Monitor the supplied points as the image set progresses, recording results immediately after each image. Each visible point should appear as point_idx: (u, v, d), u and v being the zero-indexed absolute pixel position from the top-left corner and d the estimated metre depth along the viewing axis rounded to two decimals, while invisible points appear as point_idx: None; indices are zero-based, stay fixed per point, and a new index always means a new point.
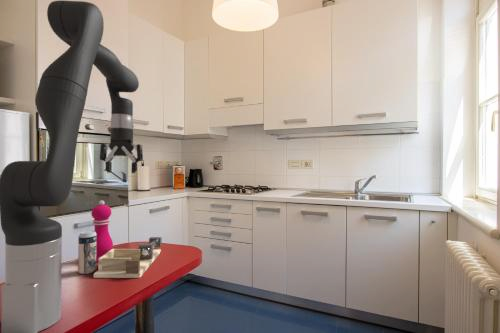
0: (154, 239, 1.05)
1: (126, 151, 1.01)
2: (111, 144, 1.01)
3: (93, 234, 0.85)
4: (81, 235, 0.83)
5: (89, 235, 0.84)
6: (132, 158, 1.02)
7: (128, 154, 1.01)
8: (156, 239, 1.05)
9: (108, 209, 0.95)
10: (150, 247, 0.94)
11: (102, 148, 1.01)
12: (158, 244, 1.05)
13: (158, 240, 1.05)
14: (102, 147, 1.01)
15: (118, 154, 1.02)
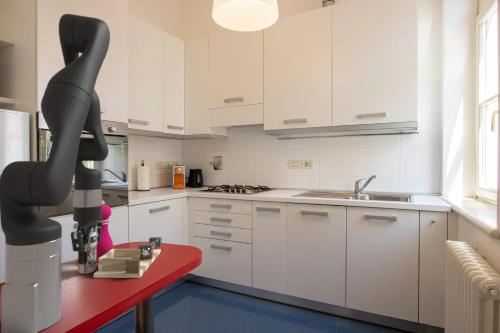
0: (154, 239, 1.05)
1: (96, 231, 0.87)
2: (85, 227, 0.82)
3: (93, 234, 0.85)
4: None
5: None
6: (96, 240, 0.88)
7: (97, 235, 0.87)
8: (156, 239, 1.05)
9: (108, 209, 0.95)
10: (150, 247, 0.94)
11: (81, 237, 0.79)
12: (158, 244, 1.05)
13: (158, 240, 1.05)
14: (81, 236, 0.79)
15: None
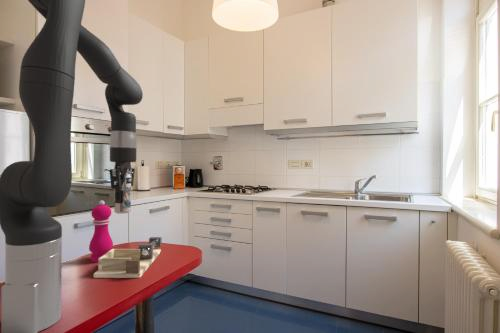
0: (154, 239, 1.05)
1: (130, 174, 0.90)
2: (122, 167, 0.84)
3: (128, 175, 0.87)
4: None
5: None
6: None
7: (131, 178, 0.90)
8: (156, 239, 1.05)
9: (108, 209, 0.95)
10: (150, 247, 0.94)
11: (119, 175, 0.82)
12: (158, 244, 1.05)
13: (158, 240, 1.05)
14: (119, 174, 0.82)
15: None
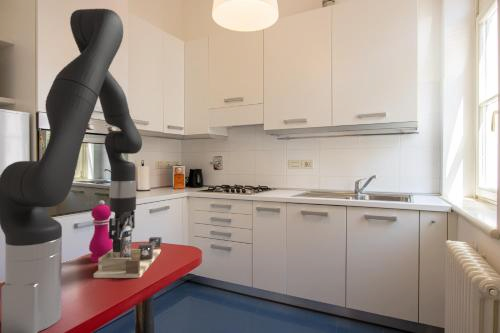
0: (154, 239, 1.05)
1: (130, 221, 0.90)
2: (122, 217, 0.85)
3: (128, 228, 0.87)
4: None
5: None
6: (131, 227, 0.92)
7: (131, 224, 0.91)
8: (156, 239, 1.05)
9: (108, 209, 0.95)
10: (150, 247, 0.94)
11: (118, 224, 0.82)
12: (158, 244, 1.05)
13: (158, 240, 1.05)
14: (118, 223, 0.82)
15: None
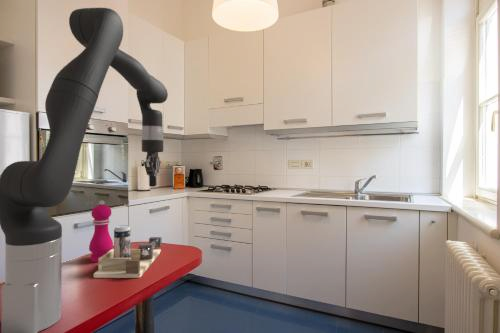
0: (154, 239, 1.05)
1: (158, 163, 1.06)
2: (152, 156, 1.01)
3: (128, 228, 0.87)
4: (117, 229, 0.86)
5: (124, 229, 0.86)
6: (156, 172, 1.05)
7: (158, 166, 1.05)
8: (156, 239, 1.05)
9: (108, 209, 0.95)
10: (150, 247, 0.94)
11: (152, 165, 1.00)
12: (158, 244, 1.05)
13: (158, 240, 1.05)
14: (152, 164, 0.99)
15: None
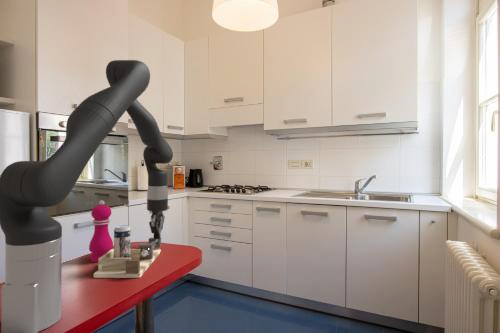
0: (154, 239, 1.04)
1: (162, 220, 1.09)
2: (157, 215, 1.05)
3: (128, 228, 0.87)
4: (117, 229, 0.86)
5: (124, 229, 0.86)
6: (160, 229, 1.08)
7: (162, 223, 1.09)
8: (156, 239, 1.04)
9: (108, 209, 0.95)
10: (150, 247, 0.94)
11: (157, 225, 1.03)
12: (158, 244, 1.04)
13: (158, 240, 1.04)
14: (156, 224, 1.03)
15: (160, 219, 1.09)
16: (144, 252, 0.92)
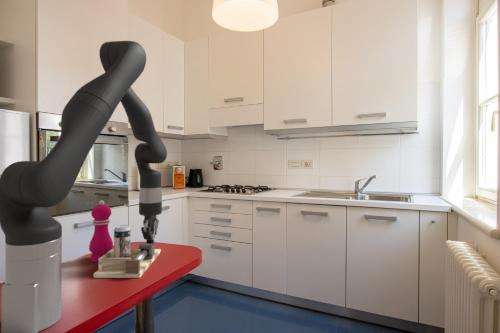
0: None
1: (156, 224, 1.00)
2: (150, 220, 0.96)
3: (128, 228, 0.87)
4: (117, 229, 0.86)
5: (124, 229, 0.86)
6: (154, 234, 1.00)
7: (156, 228, 1.00)
8: None
9: (108, 209, 0.95)
10: (150, 247, 0.94)
11: (149, 230, 0.95)
12: None
13: None
14: (149, 230, 0.94)
15: None
16: None
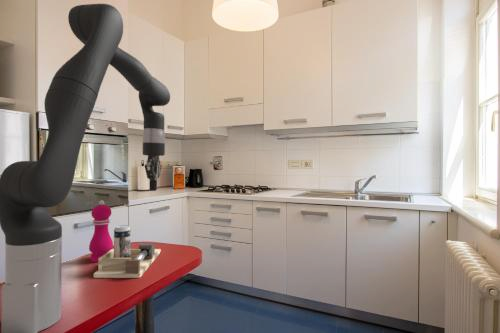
0: None
1: (159, 166, 1.03)
2: (153, 159, 0.98)
3: (128, 228, 0.87)
4: (117, 229, 0.86)
5: (124, 229, 0.86)
6: (157, 175, 1.02)
7: (159, 170, 1.03)
8: None
9: (108, 209, 0.95)
10: (150, 247, 0.94)
11: (153, 169, 0.97)
12: None
13: None
14: (152, 168, 0.97)
15: None
16: None
